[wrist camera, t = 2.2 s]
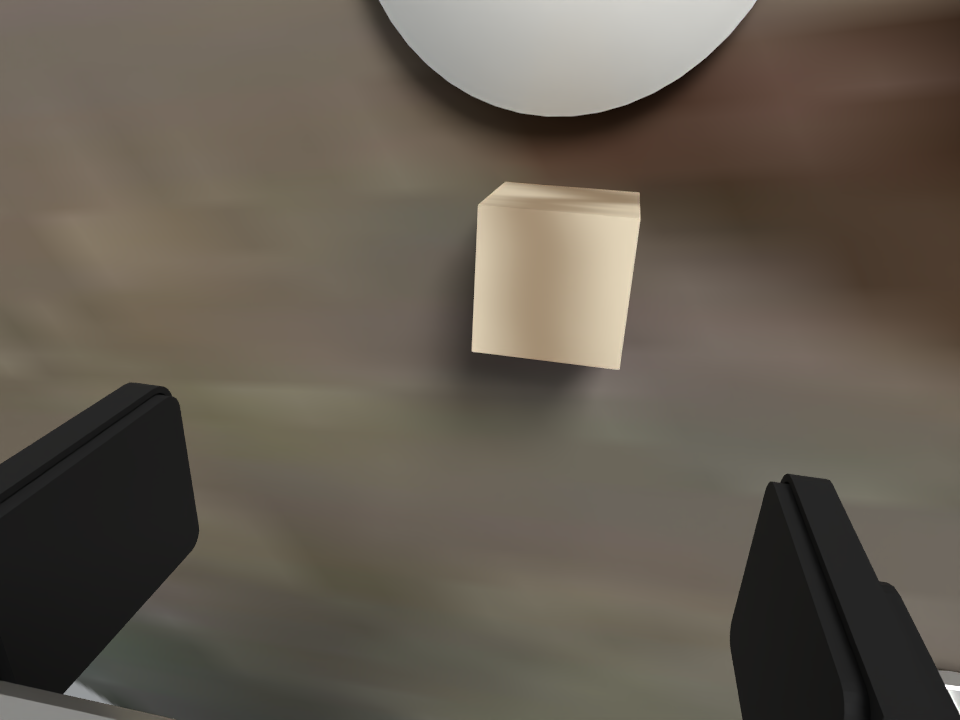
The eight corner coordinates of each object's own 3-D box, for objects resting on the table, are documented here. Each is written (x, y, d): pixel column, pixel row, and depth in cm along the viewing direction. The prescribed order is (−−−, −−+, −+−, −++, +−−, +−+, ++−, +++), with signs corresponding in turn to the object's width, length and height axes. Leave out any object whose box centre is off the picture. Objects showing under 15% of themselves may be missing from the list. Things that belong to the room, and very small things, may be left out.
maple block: (639, 191, 25) (640, 218, 20) (621, 319, 27) (619, 369, 22) (505, 181, 26) (478, 205, 21) (498, 306, 28) (471, 351, 23)
